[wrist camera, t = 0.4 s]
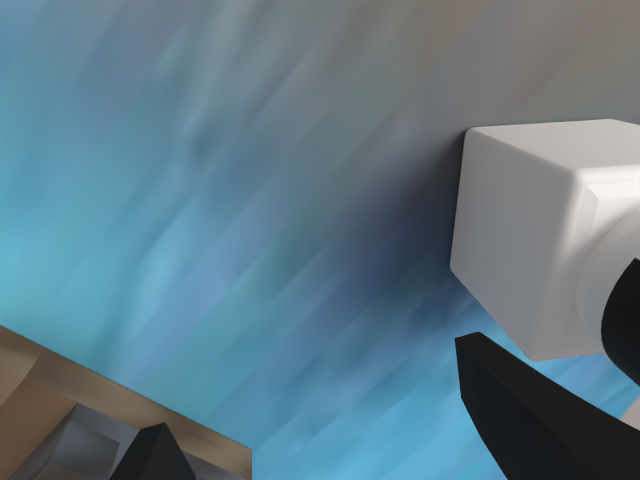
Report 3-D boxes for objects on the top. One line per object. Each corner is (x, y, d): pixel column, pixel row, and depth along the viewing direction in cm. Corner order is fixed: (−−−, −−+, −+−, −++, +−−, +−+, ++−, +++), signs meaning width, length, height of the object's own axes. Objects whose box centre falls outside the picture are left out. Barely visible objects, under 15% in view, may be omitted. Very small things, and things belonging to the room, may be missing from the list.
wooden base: (251, 449, 25) (252, 540, 20) (158, 535, 27) (140, 634, 22) (-142, 255, 17) (-282, 333, 12) (-234, 396, 19) (-384, 508, 14)
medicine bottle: (575, 256, 22) (876, 456, 12) (446, 270, 22) (643, 500, 11) (612, 116, 19) (1063, 216, 9) (462, 126, 18) (761, 249, 8)
